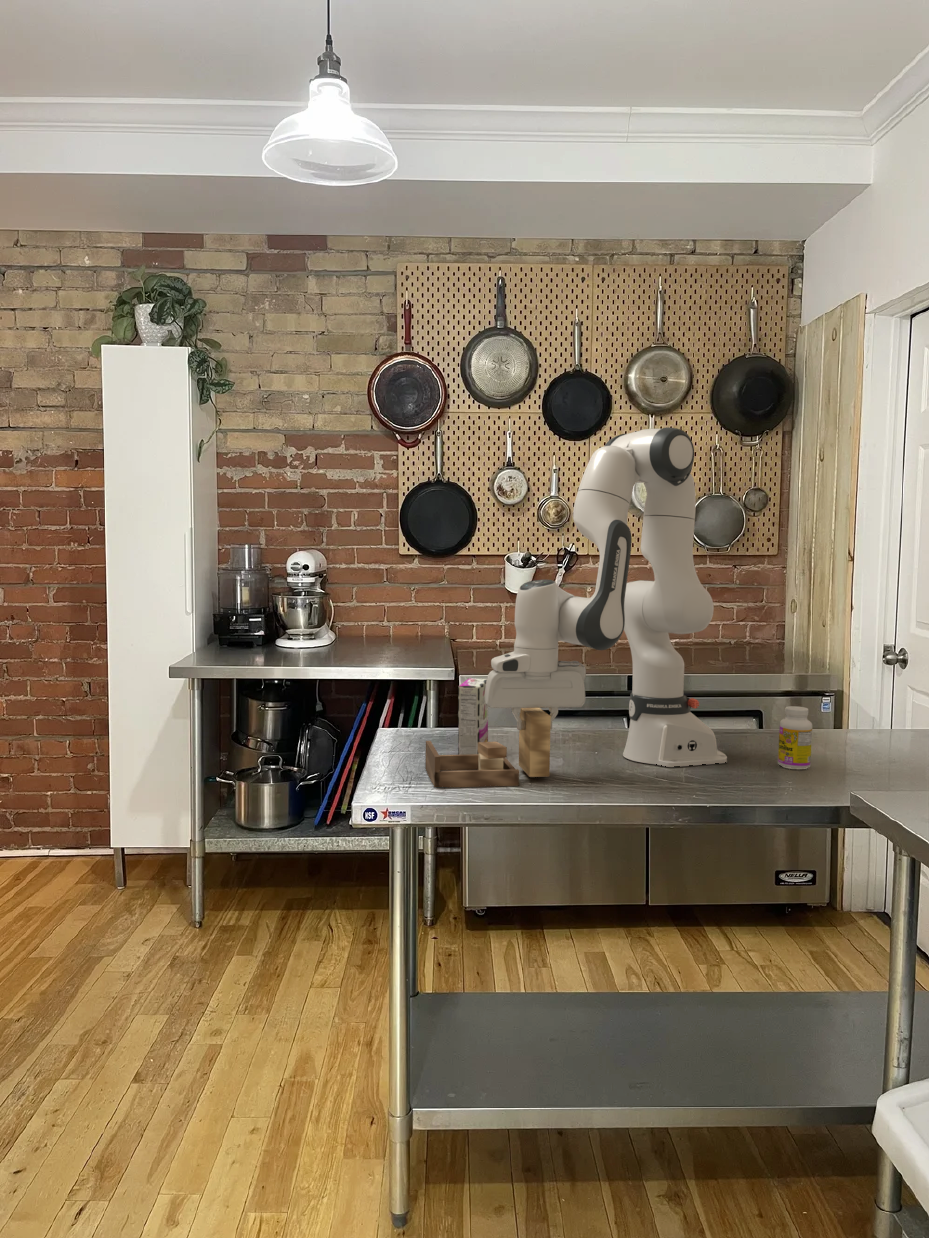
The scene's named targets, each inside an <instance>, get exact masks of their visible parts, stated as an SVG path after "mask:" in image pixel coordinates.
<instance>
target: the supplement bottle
mask: <svg viewBox="0 0 929 1238" xmlns="http://www.w3.org/2000/svg"><path fill="white" fill-rule="evenodd" d="M784 713H785V717H784V718H782V719H781V720H780V721H779V732H778V733H779V734H778V735H779V736H778V753H777V765H778V764H779V765H781V766H785V767H791V768H806V767H811V761H812V760H811V759H812V758H811V757H812V739H813V723H812V721H810V720H809V719H808V715H809V708H807V707H804V706H791V705H789V706H786V707H785V708H784ZM779 765H778V766H779Z"/></svg>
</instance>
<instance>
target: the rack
mask: <svg viewBox="0 0 929 1238" xmlns="http://www.w3.org/2000/svg"><path fill="white" fill-rule="evenodd" d="M478 757H479V754H467V755H458V754H439V752H438V751H437V749H436V747H435V746H434V744H433V743H432V740H426V741H425V758H424V759H425V761H424V762H425V767H424V768H425V769H426V770H425V771H427V772H426V774H427V776H428V778H429V780H430V782H431V784H432V783H433V784H432V786H433V785H434V786H433V788H434V787H447V788H475V787H476V788H479V787H481V788H483V787H517V786H518V787H519V785H520V770H519V769H518V768H515V767H514V765H513V764H512V763H511V762H510V761H509V760H508V758H507V757H503V769H504V770H478Z"/></svg>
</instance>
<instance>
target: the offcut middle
mask: <svg viewBox="0 0 929 1238" xmlns="http://www.w3.org/2000/svg"><path fill="white" fill-rule="evenodd" d="M478 763H479V768H480V770H503V758H486V757H485V756H483V755H481V754H480V753H479V757H478Z"/></svg>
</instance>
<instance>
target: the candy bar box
mask: <svg viewBox="0 0 929 1238" xmlns="http://www.w3.org/2000/svg"><path fill="white" fill-rule="evenodd" d="M486 681H487V678H479V677H478V678H475V677H473V678H471V677H470V678H467V679H466V680H465V681H463V682H461V684H460V685H458V689H457V690H458V695H457V696H458V698H457V699H458V702H457V703H458V707H457V708H458V713H457V715H458V716H457V717H458V719H457V722H458V726H457V727H458V728H457V729H458V732H457V733H458V734H457V735H458V736H457V737H458V738H457V740H458V741H457V742H458V743H457V745H458V747H457V749H458V750H457V753H458V754H457V755H467V754H479V753H478V742H489V707H488V706H487V704H486V703H485V687H486Z"/></svg>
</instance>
